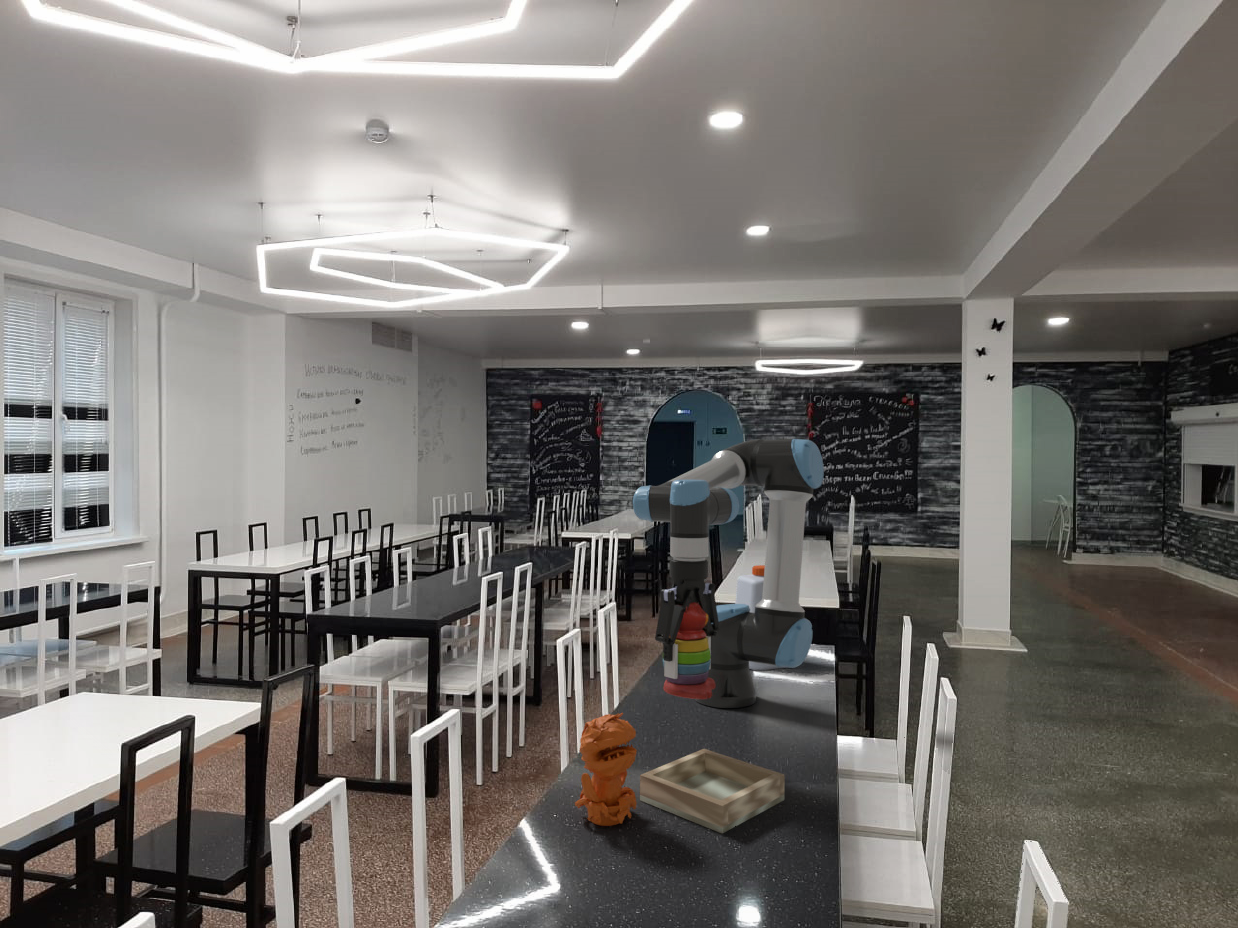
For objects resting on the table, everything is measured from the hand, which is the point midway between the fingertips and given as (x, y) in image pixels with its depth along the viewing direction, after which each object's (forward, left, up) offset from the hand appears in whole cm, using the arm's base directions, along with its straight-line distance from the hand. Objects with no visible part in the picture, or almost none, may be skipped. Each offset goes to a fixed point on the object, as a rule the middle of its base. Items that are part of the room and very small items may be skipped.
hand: (687, 672), depth 163 cm
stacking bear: (0, 0, -4) cm, 4 cm away
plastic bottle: (-74, -33, -18) cm, 83 cm away
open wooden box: (+10, +14, -18) cm, 25 cm away
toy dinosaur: (+28, +6, -18) cm, 34 cm away
